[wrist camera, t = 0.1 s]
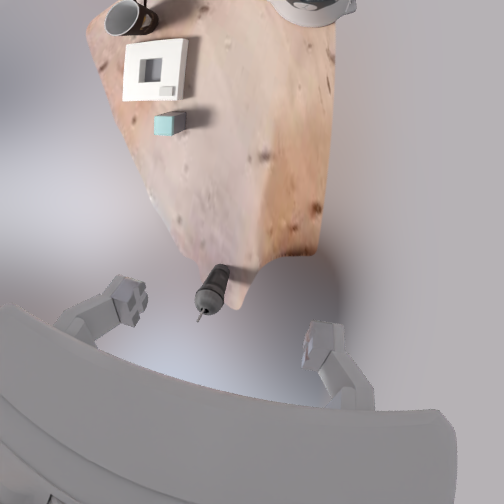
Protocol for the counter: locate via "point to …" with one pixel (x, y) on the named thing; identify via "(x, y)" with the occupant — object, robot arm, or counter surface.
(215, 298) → the beverage cup
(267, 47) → the counter surface
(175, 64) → the socket plate
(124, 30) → the coffee mug
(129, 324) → the robot arm
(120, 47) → the counter surface
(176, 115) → the plug
